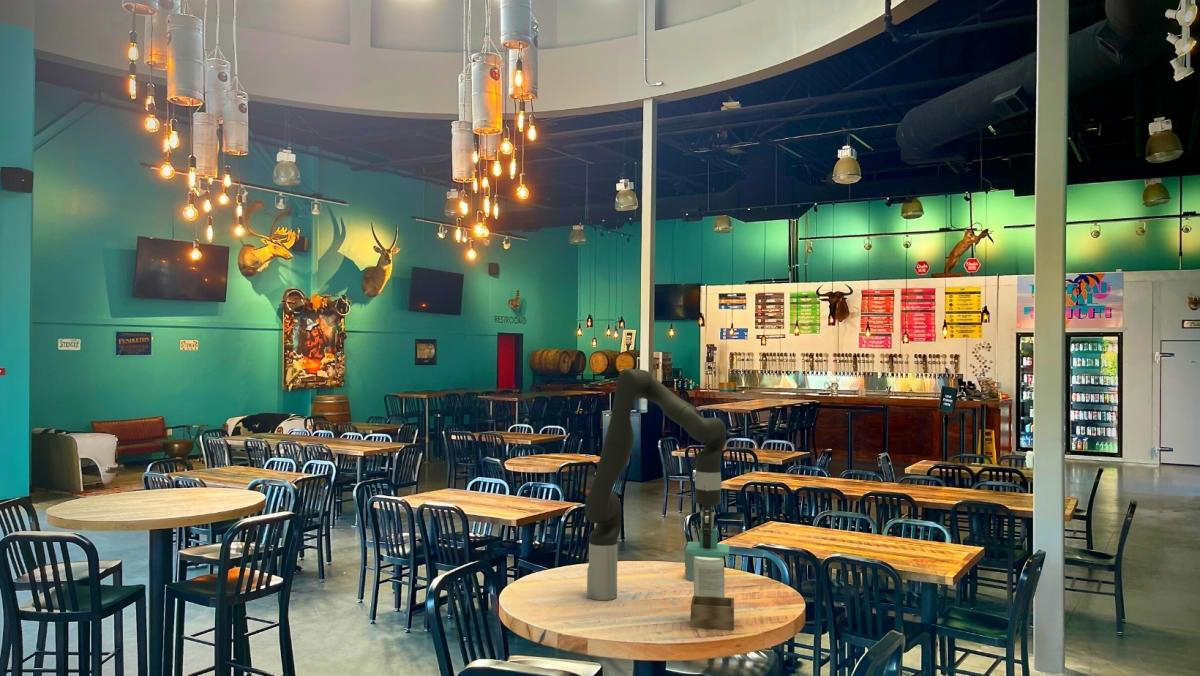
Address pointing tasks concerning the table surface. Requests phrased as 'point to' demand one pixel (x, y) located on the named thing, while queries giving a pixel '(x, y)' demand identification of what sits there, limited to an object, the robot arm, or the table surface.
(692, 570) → the grey green pot
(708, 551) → the lid
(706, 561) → the supplement tub
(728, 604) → the crate
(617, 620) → the table surface
